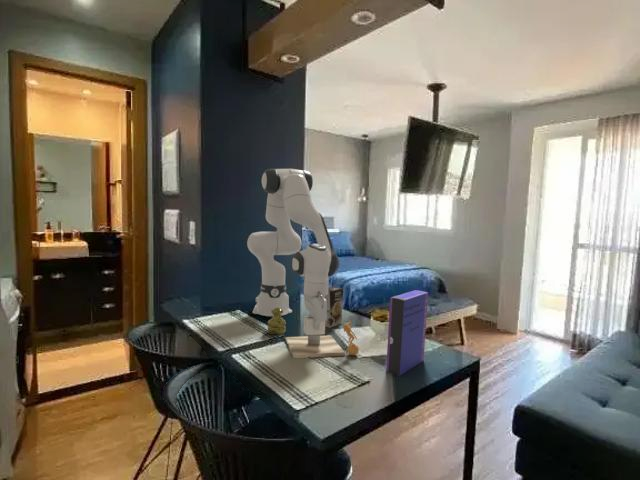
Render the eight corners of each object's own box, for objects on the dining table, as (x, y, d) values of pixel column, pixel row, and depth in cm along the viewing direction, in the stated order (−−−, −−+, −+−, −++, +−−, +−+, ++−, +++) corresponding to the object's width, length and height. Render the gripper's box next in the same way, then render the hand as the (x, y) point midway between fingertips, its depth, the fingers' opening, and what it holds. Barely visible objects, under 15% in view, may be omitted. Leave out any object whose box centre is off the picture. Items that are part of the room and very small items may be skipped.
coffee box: (330, 328, 164) (332, 291, 162) (318, 325, 167) (320, 288, 166) (342, 323, 171) (344, 288, 170) (330, 320, 175) (332, 285, 173)
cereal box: (410, 356, 135) (415, 289, 133) (423, 360, 132) (428, 291, 130) (386, 371, 121) (390, 296, 119) (399, 376, 118) (404, 299, 116)
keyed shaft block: (285, 340, 146) (286, 316, 145) (330, 338, 150) (331, 315, 150) (293, 358, 129) (294, 331, 128) (344, 355, 133) (346, 329, 132)
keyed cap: (321, 330, 142) (322, 315, 142) (324, 334, 138) (325, 318, 137) (303, 330, 141) (304, 315, 140) (306, 334, 136) (306, 319, 136)
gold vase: (282, 336, 151) (283, 311, 150) (264, 334, 152) (265, 309, 152) (287, 330, 158) (288, 306, 157) (270, 328, 160) (271, 305, 159)
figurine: (363, 358, 131) (365, 324, 130) (348, 360, 129) (350, 325, 128) (351, 350, 139) (353, 317, 138) (337, 352, 136) (338, 319, 135)
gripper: (332, 295, 129) (330, 335, 130) (317, 283, 148) (316, 318, 150) (314, 295, 127) (312, 336, 128) (301, 283, 147) (300, 319, 148)
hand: (314, 326), depth 139 cm, fingers closed on keyed cap, 5 cm apart
